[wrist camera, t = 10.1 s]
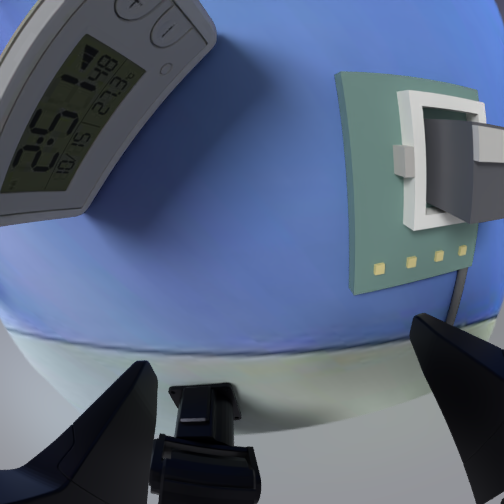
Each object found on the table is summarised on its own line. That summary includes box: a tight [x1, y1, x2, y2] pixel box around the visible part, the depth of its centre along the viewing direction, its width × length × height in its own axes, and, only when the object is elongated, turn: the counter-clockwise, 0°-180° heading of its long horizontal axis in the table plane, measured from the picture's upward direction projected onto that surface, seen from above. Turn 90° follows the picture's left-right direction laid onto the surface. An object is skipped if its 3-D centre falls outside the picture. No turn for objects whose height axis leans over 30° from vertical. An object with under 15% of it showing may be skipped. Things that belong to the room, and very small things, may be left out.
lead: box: [446, 267, 468, 326], centre depth 22 cm, size 12×1×1 cm, turn 8°
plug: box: [424, 119, 504, 224], centre depth 14 cm, size 6×4×6 cm
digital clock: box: [0, 0, 217, 227], centre depth 10 cm, size 16×9×11 cm, turn 126°
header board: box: [334, 72, 486, 295], centre depth 17 cm, size 16×13×3 cm
